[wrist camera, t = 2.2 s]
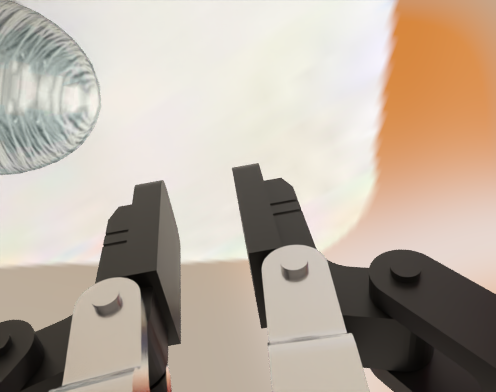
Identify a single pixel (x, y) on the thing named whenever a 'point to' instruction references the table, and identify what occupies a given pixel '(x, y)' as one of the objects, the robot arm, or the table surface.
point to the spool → (42, 91)
